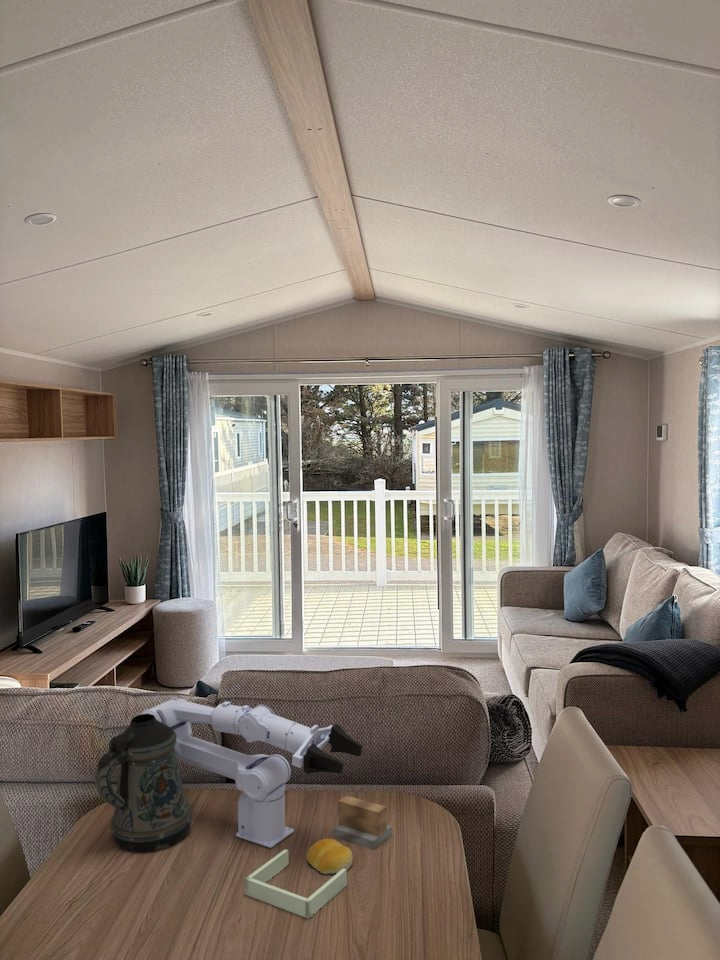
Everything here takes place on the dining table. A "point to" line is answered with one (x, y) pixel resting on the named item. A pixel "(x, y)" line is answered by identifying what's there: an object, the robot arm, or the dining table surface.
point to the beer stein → (145, 787)
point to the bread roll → (329, 856)
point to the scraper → (362, 822)
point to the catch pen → (286, 899)
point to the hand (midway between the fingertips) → (351, 759)
